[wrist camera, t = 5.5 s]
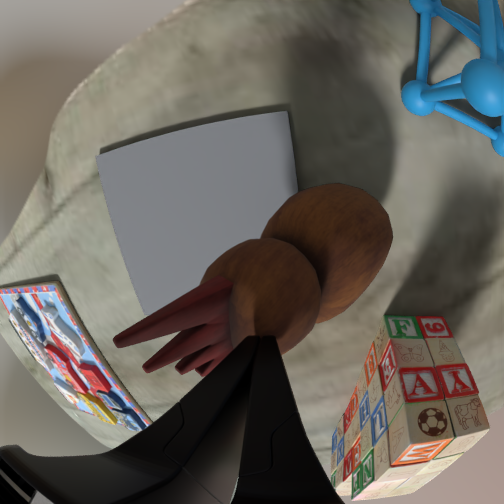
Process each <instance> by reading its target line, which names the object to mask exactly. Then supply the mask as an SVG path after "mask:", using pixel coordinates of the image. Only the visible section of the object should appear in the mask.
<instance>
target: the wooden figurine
mask: <svg viewBox="0 0 504 504" xmlns="http://www.w3.org/2000/svg"><path fill="white" fill-rule="evenodd" d="M392 240H393V232H392V228H391V223H390V220H389V216H388V213H387V212H386V211H385V209H384V208H383V207H382V206H381V204H380V203H379V202H378V200H377V199H375V198H374V197H373V196H371V195H370V194H368V193H367V192H366V191H364V190H363V189H360V188H356V187H352V186H349V185H345V184H340V183H334V184H325V185H321V186H316V187H311V188H308V189H305V190H302V191H299V192H298V193H296V194H294V195H293V196H291V197H289V198H288V199H287V200H286V201H285V203H284V204H283V205H282V206H281V207H280V208H279V209H278V210H277V211H276V213H275V214H274V215H273V216H272V217H271V218H270V219H269V220H268V222H267V224H266V226H265V228H264V230H263V232H262V234H261V237H260V239H249V240H246V241H244V242H242V243H239V244H237V245H236V246H234V247H232V248H230V249H229V250H227V251H226V252H224V253H223V254H222V255H221V256H219V257H218V258H217V259H216V260H215V261H214V262H213V263H212V264H211V265H210V266H209V267H208V268H207V270H206V272H205V274H204V276H203V278H202V280H201V282H200V284H199V286H198V287H196V288H194V289H192V290H191V291H189V292H187V293H186V294H184V295H182V296H181V297H179V298H177V299H176V300H174V301H172V302H171V303H169V304H167V305H166V306H164V307H162V308H161V309H159V310H157V311H156V312H154V313H152V314H151V315H149V316H147V317H146V318H144V319H142V320H141V321H139V322H138V323H136V324H134V325H133V326H131V327H129V328H128V329H126V330H124V331H123V332H121V333H119V334H118V335H116V336H115V337H114V338H113V342H114V344H115V345H116V347H117V348H123V347H127V346H130V345H134V344H137V343H141V342H145V341H148V340H152V339H155V338H158V337H162V336H165V335H169V334H172V333H175V332H179V331H181V332H180V333H178V334H177V335H176V336H175V337H174V338H173V339H172V340H170V341H169V342H168V343H167V344H166V345H165V346H164V347H163V348H161V349H160V350H159V351H158V352H157V353H156V354H154V355H153V356H152V357H151V358H150V359H149V360H148V361H146V362H145V363H144V364H143V366H142V368H143V370H144V371H145V372H146V373H150V372H153V371H155V370H157V369H159V368H162V367H164V366H166V365H168V364H170V363H172V362H175V361H177V360H179V359H181V358H182V359H181V360H180V361H179V362H178V363H177V364H176V366H175V369H176V370H177V371H178V372H179V373H180V374H181V375H183V374H185V373H187V372H189V371H191V370H193V369H195V371H196V372H197V373H199V374H200V375H201V376H202V377H204V376H206V375H207V374H209V373H210V372H211V371H212V370H213V369H214V368H215V367H216V366H217V365H218V364H219V363H220V362H221V361H222V360H223V359H224V358H225V357H226V356H227V355H228V354H229V353H230V352H231V351H232V350H233V349H234V348H235V347H236V346H237V345H238V344H239V343H240V342H241V341H242V340H243V339H244V338H245V337H246V336H249V335H259V336H260V337H261V338H262V336H264V335H274V336H275V337H276V340H277V343H278V346H279V349H280V353H281V355H283V354H284V353H286V352H287V351H289V350H290V349H292V348H293V347H295V346H296V345H297V344H298V343H299V342H300V341H301V340H302V339H304V338H305V337H306V336H307V335H308V333H309V332H310V331H311V330H312V329H313V327H314V324H315V323H321V322H324V321H327V320H330V319H331V318H333V317H335V316H337V315H339V314H340V313H342V312H344V311H345V310H346V309H347V308H348V307H349V306H350V305H351V304H353V303H354V302H355V301H356V299H357V298H358V297H359V296H360V295H361V294H362V293H363V292H364V291H365V290H366V289H367V287H368V286H369V285H370V283H371V282H372V281H373V279H374V278H375V276H376V275H377V273H378V272H379V270H380V269H381V267H382V266H383V264H384V262H385V260H386V257H387V255H388V252H389V250H390V247H391V244H392Z"/></svg>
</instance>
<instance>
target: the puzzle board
mask: <svg viewBox="0 0 504 504" xmlns="http://www.w3.org/2000/svg"><path fill="white" fill-rule="evenodd" d="M0 298H1V300H2V302H3V304H4V306H5V308H6V310H7V311H8V313H9V315H10V317H9V322H10V323H11V325H12V327H13V328H14V330H15V331H16V333H17V335H18V336H19V338H20V339H21V341H22V342H23V344H24V345H25V347H26V348H27V350H28V351H29V353H30V354H31V356H32V357H33V358H34V359H35V360H36V361H38V362H39V363H40V364H42V365H43V367H44V368H45V369H46V371H47V372H48V373H49V374H50V376H51V377H52V378H53V380H54V385H55V387H56V388H57V389H58V390H59V391H60V393H61V394H62V395H63V396H64V397H65V398H66V400H68V401H69V402H70V403H74V404H75V406H76V407H77V408H78V409H79V410H82V411H84V412H87V413H89V414H92V415H94V416H97V417H99V419H100V420H102V421H105V422H108V423H111V424H114V425H116V423H117V424H120V425H123V426H125V427H126V428H127V429H129V430H134V431H139V430H140V431H142V430H143V429H145V428H146V427H148V426H149V425H150V424H152V423H153V422H152V421H151V420H150V418H149V417H148V416H147V415H146V414H145V413H144V411H143V410H142V409H141V408H140V406H139V405H138V404H137V403H136V401H135V400H134V399H133V398H132V396H131V395H130V394H129V393H128V391H127V390H126V389H125V387H124V386H123V385H122V383H121V382H120V381H119V379H118V378H117V376H116V375H115V374H114V372H113V371H112V369H111V368H110V367H109V365H108V364H107V362H106V361H105V359H104V358H103V356H102V355H101V353H100V352H99V350H98V349H97V347H96V345H95V344H94V342H93V341H92V339H91V337H90V336H89V334H88V332H87V331H86V329H85V327H84V326H83V324H82V322H81V320H80V319H79V317H78V315H77V313H76V312H75V310H74V308H73V306H72V304H71V302H70V300H69V298H68V297H67V295H66V293H65V291H64V289H63V287H62V285H61V283H60V282H59V281H58V280H57V281H48V282H41V283H33V284H26V285H19V286H12V287H5V288H0Z"/></svg>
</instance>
